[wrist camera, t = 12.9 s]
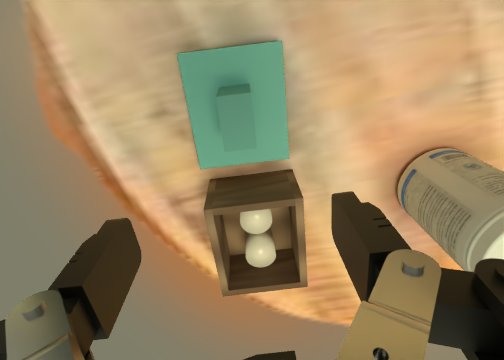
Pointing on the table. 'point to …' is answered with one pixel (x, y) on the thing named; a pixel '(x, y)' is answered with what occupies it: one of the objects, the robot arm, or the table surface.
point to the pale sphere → (260, 248)
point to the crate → (233, 235)
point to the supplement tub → (456, 204)
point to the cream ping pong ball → (256, 221)
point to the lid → (236, 103)
